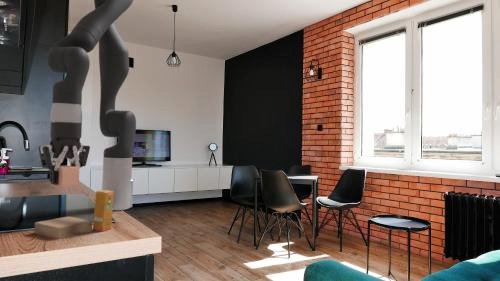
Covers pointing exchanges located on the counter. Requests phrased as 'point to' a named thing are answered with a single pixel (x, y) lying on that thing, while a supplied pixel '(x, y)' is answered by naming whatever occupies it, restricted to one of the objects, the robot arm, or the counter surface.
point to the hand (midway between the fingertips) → (64, 183)
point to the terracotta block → (68, 176)
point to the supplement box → (103, 210)
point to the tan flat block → (63, 227)
